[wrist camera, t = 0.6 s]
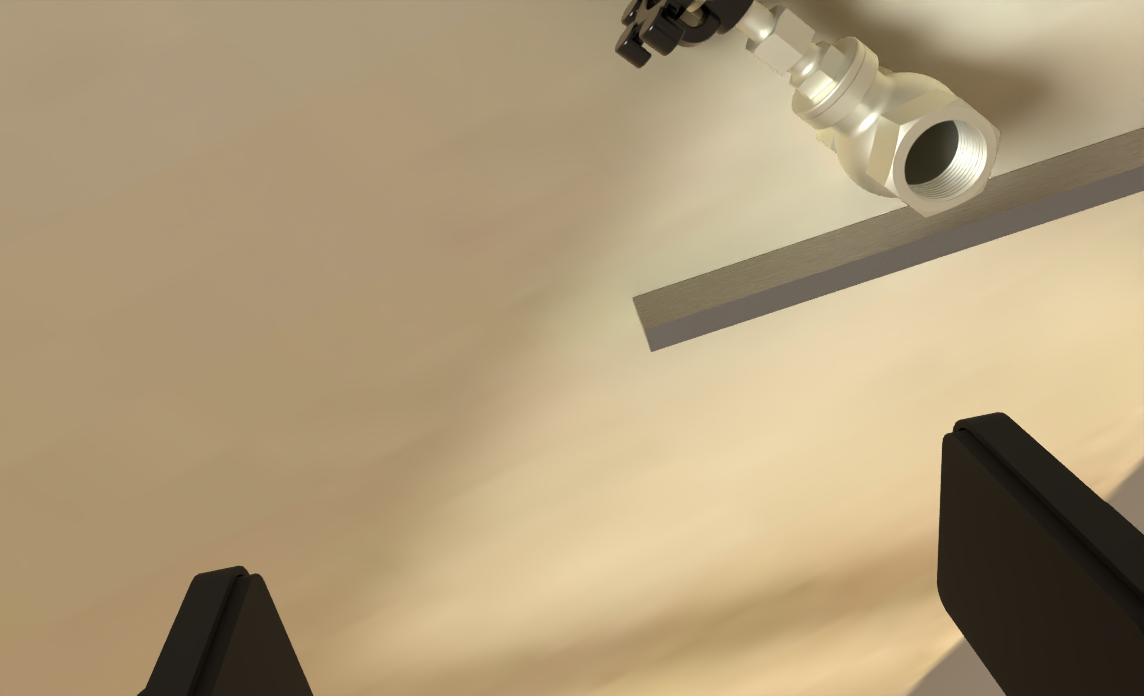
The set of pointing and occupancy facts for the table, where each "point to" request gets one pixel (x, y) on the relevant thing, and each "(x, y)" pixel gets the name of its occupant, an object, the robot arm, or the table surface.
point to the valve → (843, 99)
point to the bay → (892, 242)
